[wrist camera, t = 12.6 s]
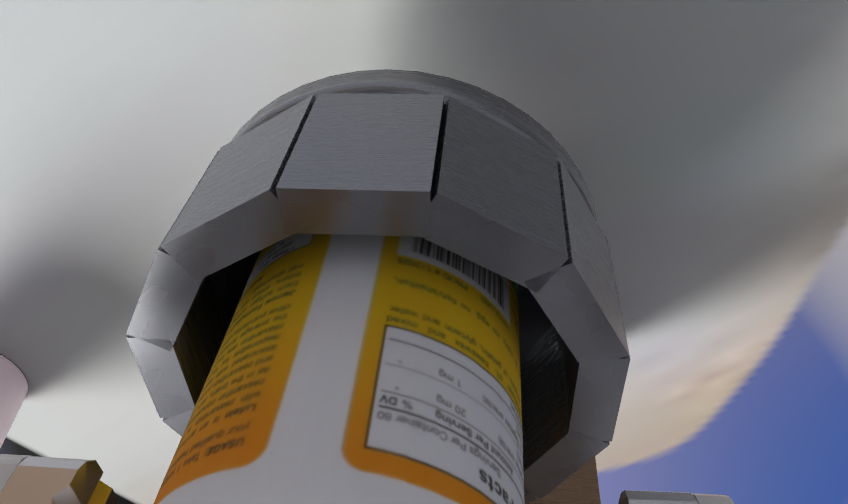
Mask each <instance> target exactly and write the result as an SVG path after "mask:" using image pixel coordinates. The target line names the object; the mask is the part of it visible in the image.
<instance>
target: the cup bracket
mask: <svg viewBox="0 0 848 504" xmlns="http://www.w3.org/2000/svg"><path fill="white" fill-rule="evenodd" d="M295 233H298V234H333V235H368V236H404V237H422V238H424V239H426V240H428V241H430V242H432V243H434V244H436V245H438V246H440V247H442V248H445V249H447V250H449V251H451V252H453V253H455V254H457V255H459V256H461V257H463V258H465V259H468V260H470V261H472V262H474V263H476V264H478V265H480V266H482V267H484V268H486V269H488V270H490V271H493V272H495V273H497V274H499V275H501V276H503V277H505V278H507V279H509V280H511V281H513V282H516V283H517V294H518V310H519V344H520V372H521V373H520V377H521V408H522V431H523V472H524V503H525V504H601V502H600V494H599V485H598V477H597V469H596V460H595V456H596V455H597V454H598V453H600V452H601V451H602V450H603V449H605V448H606V447H607V446H608V445H610V444H609V441H612V438H613V434H614V429H615V425H616V420H617V416H618V411H619V407H620V402H621V398H622V393H623V389H624V384H625V380H626V375H627V371H628V366H629V362H630V356H629V351H628V345H627V340H626V335H625V330H624V324H623V319H622V314H621V309H620V303H619V298H618V293H617V288H616V282H615V277H614V272H613V267H612V261H611V256H610V251H609V246H608V241H607V240H606V238H605V236H604V234H603V233H602V231H601V229H600V227H599V225H598V224H597V220H596V215H595V211H594V207H593V203H592V200H591V196H590V193H589V191H588V189H587V186H586V184H585V182H584V180H583V178H582V175H581V173H580V172H579V170H578V169H577V167H576V165H575V164H574V162H573V161H572V159H571V158H570V156H569V155H568V153H567V152H566V151H565V150H564V149H563V147H562V146H561V145H560V144H559V143H558V142H557V141H556V140H555V138H554V137H553V136H552V135H551V134H550V133H549V132H548V131H547V130H546V129H544V128H543V127H542V126H541V125H540V124H539V123H537V122H536V121H535V120H534V119H533V118H531V117H530V116H529V115H528V114H526V113H525V112H523V111H521V110H520V109H518V108H517V107H515V106H514V105H512V104H510V103H509V102H507V101H506V100H504V99H502V98H500V97H498V96H496V95H494V94H491V93H489V92H487V91H485V90H483V89H481V88H479V87H476V86H473V85H470V84H467V83H464V82H461V81H458V80H455V79H452V78H449V77H444V76H439V75H433V74H428V73H423V72H417V71H403V70H370V71H356V72H351V73H345V74H340V75H335V76H330V77H326V78H323V79H320V80H317V81H314V82H311V83H308V84H305V85H302V86H300V87H298V88H296V89H294V90H292V91H290V92H288V93H286V94H284V95H282V96H280V97H278V98H277V99H276V100H274V101H273V102H271V103H270V104H268V105H267V106H265V107H264V108H263V109H261V110H260V111H258V112H257V113H256V114H255V115H254V116H253V117H252V118H251V119H250V120H249V121H248V122H247V123H246V124H245V125H244V126H243V127H242V128H241V129H240V130H239V131H238V133H237V134H236V135H235V137H234V138H233V139H232V141H231V142H230V143H228V144H226V145H225V146H223V147H221V149H220V150H219V151H218V152H217V154H216V155H215V157H214V159H213V160H212V162H211V163H210V165H209V167H208V168H207V170H206V172H205V173H204V175H203V177H202V178H201V180H200V181H199V183H198V185H197V186H196V188H195V190H194V191H193V193H192V194H191V196H190V198H189V199H188V201H187V203H186V204H185V206H184V207H183V209H182V211H181V212H180V214H179V216H178V217H177V219H176V221H175V222H174V224H173V225H172V227H171V229H170V230H169V232H168V234H167V235H166V237H165V238H164V240H163V242H162V243H161V245H160V247H159V248H158V250H157V253H156V255H155V258H154V261H153V263H152V266H151V269H150V271H149V274H148V277H147V279H146V282H145V285H144V287H143V290H142V293H141V295H140V298H139V301H138V303H137V306H136V309H135V311H134V314H133V317H132V319H131V322H130V325H129V327H128V330H127V332H126V334H128V335H127V337H126V339H127V341H128V343H129V346H130V348H131V350H132V353H133V355H134V357H135V360H136V362H137V365H138V367H139V369H140V372H141V374H142V376H143V379H144V381H145V384H146V386H147V388H148V391H149V393H150V395H151V398H152V400H153V403H154V405H155V407H156V410H157V412H158V414H159V417H160V418H164V419H163V422H165V423H166V424H167V425H168V426H170V427H171V428H172V429H173V430H175V431H176V432H177V433H178V434H180V435H181V436H183V434H184V431H185V429H186V427H187V424H188V422H189V420H190V417H191V415H192V413H193V410H194V408H195V405H196V403H197V401H198V398H199V396H200V394H201V391H202V389H203V387H204V384H205V382H206V380H207V377H208V375H209V373H210V370H211V368H212V366H213V363H214V361H215V358H216V356H217V354H218V351H219V349H220V347H221V344H222V342H223V340H224V337H225V335H226V332H227V330H228V328H229V325H230V323H231V321H232V318H233V316H234V313H235V311H236V309H237V306H238V304H239V302H240V299H241V297H242V294H243V291H244V289H245V287H246V284H247V281H248V279H249V277H250V275H251V272H252V270H253V267H254V265H255V263H256V260H257V258H258V256H259V254H260V251H261V250H262V249H264V248H266V247H268V246H270V245H272V244H274V243H276V242H278V241H280V240H283V239H285V238H287V237H289V236H291V235H293V234H295Z"/></svg>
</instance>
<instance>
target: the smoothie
mask: <svg viewBox="0 0 848 504" xmlns="http://www.w3.org/2000/svg"><path fill="white" fill-rule="evenodd" d="M27 392H28V384H27V381H26V378H25V377H24V375H23V374H22V372H21V371H20V370H19V369H18V368H17V367H16V366H15V365H14V364H13V363H12V362H11V361H9V360H8V359H6V358H5V357H3V356H2V355H0V448H1V445H2V444H3V442H4V440H5V437H6V435H7V433H8V431H9V429H10V427H11V425H12V423H13V421H14V419H15V417H16V415H17V413H18V411H19V409H20V407H21V405H22V403H23V401H24V399H25V397H26V395H27Z"/></svg>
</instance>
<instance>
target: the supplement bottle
mask: <svg viewBox="0 0 848 504" xmlns="http://www.w3.org/2000/svg"><path fill="white" fill-rule="evenodd" d="M520 373H521V372H520V344H519V310H518V294H517V283H516V282H513V281H511V280H509V279H507V278H505V277H503V276H501V275H499V274H497V273H495V272H493V271H490V270H488V269H486V268H484V267H482V266H480V265H478V264H476V263H474V262H472V261H470V260H468V259H465V258H463V257H461V256H459V255H457V254H455V253H453V252H451V251H449V250H447V249H445V248H442V247H440V246H438V245H436V244H434V243H432V242H430V241H428V240H426V239H424V238H422V237H404V236H368V235H333V234H298V233H295V234H293V235H291V236H289V237H287V238H285V239H283V240H280V241H278V242H276V243H274V244H272V245H270V246H268V247H266V248H264V249H262V250H261V251H260V254H259V256H258V258H257V260H256V263H255V265H254V267H253V270H252V272H251V275H250V277H249V279H248V281H247V284H246V287H245V289H244V291H243V294H242V297H241V299H240V302H239V304H238V306H237V309H236V311H235V313H234V316H233V318H232V321H231V323H230V325H229V328H228V330H227V332H226V335H225V337H224V340H223V342H222V344H221V347H220V349H219V351H218V354H217V356H216V358H215V361H214V363H213V366H212V368H211V370H210V373H209V375H208V377H207V380H206V382H205V384H204V387H203V389H202V391H201V394H200V396H199V398H198V401H197V403H196V405H195V408H194V410H193V413H192V415H191V417H190V420H189V422H188V424H187V427H186V429H185V431H184V434H183V436H182V438H181V441H180V443H179V445H178V448H177V450H176V452H175V455H174V457H173V459H172V462H171V464H170V466H169V469H168V471H167V473H166V476H165V478H164V480H163V483H162V485H161V487H160V490H159V492H158V495H157V497H156V500H155V502H154V504H525V503H524V472H523V431H522V408H521V377H520Z"/></svg>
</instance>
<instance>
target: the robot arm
mask: <svg viewBox="0 0 848 504" xmlns="http://www.w3.org/2000/svg"><path fill="white" fill-rule="evenodd" d="M102 474H103V471H102V469H101V468H100V466H99V465H98V463H97V462H96V460H84V459H67V458H49V457H36V456H26V455H5V454H0V504H118V502H117V497H116V495H115V493H114V491H113V489H112V488H111V487H109V486H108V485H106V484H104V483H103V482H101V481H100V478H101V476H102ZM619 504H734V503H733V501H732V500H731V498H730V497H728V496H726V495H710V494H691V493H681V492H655V491H631V490H630V491H629V490H624V491H623V492H622V493H621V495H620V499H619Z"/></svg>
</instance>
